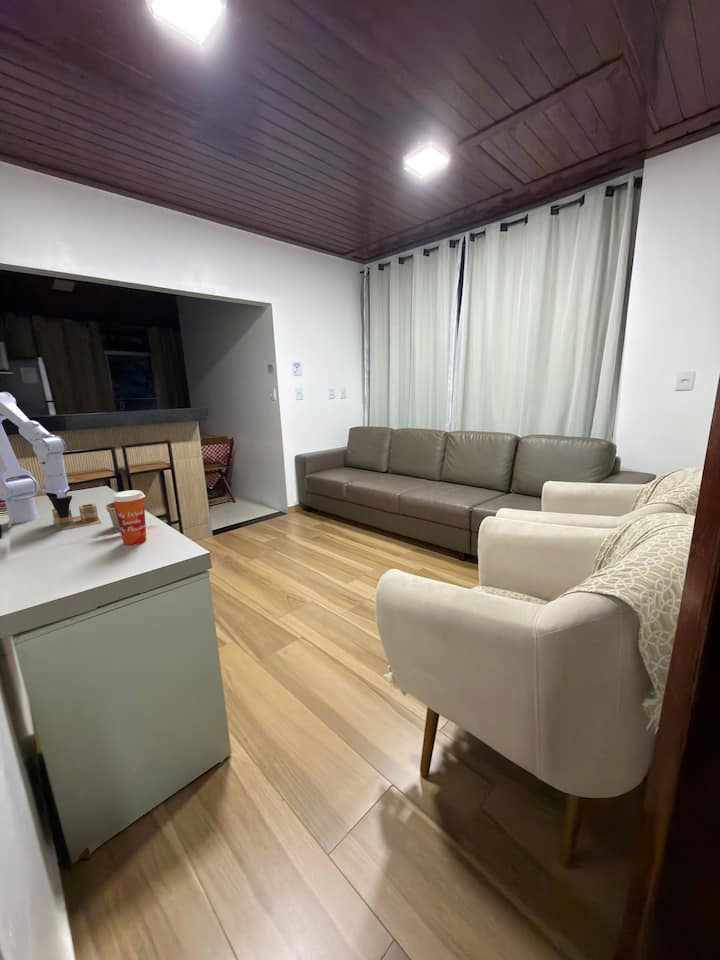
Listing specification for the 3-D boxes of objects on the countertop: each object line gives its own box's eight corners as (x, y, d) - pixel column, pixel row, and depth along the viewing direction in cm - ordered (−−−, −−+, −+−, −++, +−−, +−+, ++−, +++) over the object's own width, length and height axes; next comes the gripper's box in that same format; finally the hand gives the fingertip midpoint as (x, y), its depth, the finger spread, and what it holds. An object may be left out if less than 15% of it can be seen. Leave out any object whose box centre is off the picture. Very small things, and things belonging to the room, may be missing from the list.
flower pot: (131, 534, 118) (127, 508, 116) (101, 534, 118) (97, 508, 116) (148, 524, 127) (144, 499, 125) (120, 524, 128) (117, 499, 126)
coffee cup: (117, 548, 107) (109, 498, 104) (120, 539, 114) (113, 491, 111) (150, 543, 111) (144, 494, 108) (151, 534, 118) (145, 488, 115)
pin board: (53, 523, 128) (51, 509, 127) (96, 516, 135) (93, 502, 134) (56, 535, 117) (53, 519, 116) (102, 526, 125) (99, 511, 124)
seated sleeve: (81, 519, 129) (78, 505, 127) (96, 516, 131) (94, 503, 130) (82, 522, 125) (80, 508, 124) (98, 519, 128) (96, 505, 127)
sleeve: (54, 524, 124) (51, 509, 123) (71, 521, 127) (68, 506, 126) (56, 527, 121) (53, 512, 120) (73, 524, 124) (70, 509, 123)
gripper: (36, 473, 122) (43, 512, 125) (41, 480, 112) (49, 522, 115) (63, 470, 127) (70, 508, 130) (70, 476, 117) (77, 517, 120)
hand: (62, 514), depth 123 cm, fingers open, 7 cm apart
